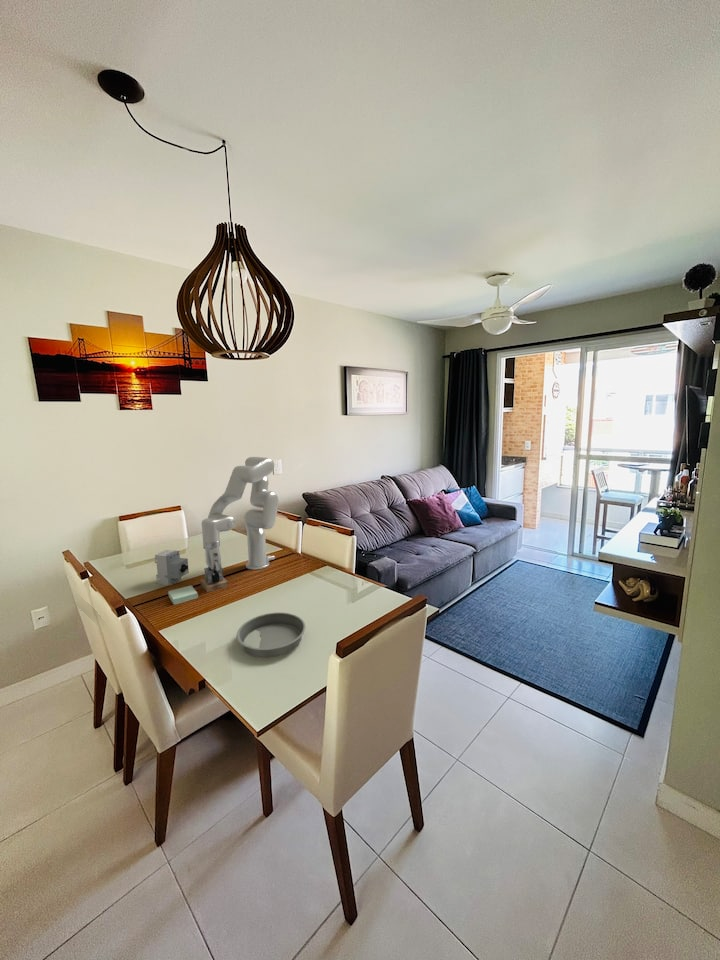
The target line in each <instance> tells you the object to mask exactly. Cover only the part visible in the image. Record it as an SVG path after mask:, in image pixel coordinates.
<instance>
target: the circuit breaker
mask: <svg viewBox="0 0 720 960" xmlns="http://www.w3.org/2000/svg"><path fill="white" fill-rule="evenodd" d="M154 564H156V570H157V571H156V572H157V573H156V576H155V578H156V582H157V583H156V584H157V585H165V586H173V585H174V584H175V583H177V582H179V581H180V580H182V577H184V576H186V575H187V574H189V572H190V571H189V561H188V558H184V557H181V556H180V550H173V549H164V550H162V551H160V552H158V553H155V554H154Z"/></svg>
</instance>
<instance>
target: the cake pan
mask: <svg viewBox="0 0 720 960" xmlns="http://www.w3.org/2000/svg"><path fill="white" fill-rule="evenodd" d="M255 631H257V632H259V636H260V640H259V647H255V646H250V645H247V644H246V643H244V641H245V640H246V638H247V637H248V636H249V635H250V634H251V633H253V632H255ZM305 631H306V622H305V621H304V620H303V619H302V618H301V617H300V616H298V615H296V614H293V613H289V612H269V613H264V614H263V613H262V614H260V615H256V616H255V617H253V618H250V619H248V620H247V621H246V622H244V623H243V624H242V625H241V626H240V627H239V628H238V630H237V632H236V639H237V642H238V643H239V644H240V645H241V646H242V649H243V650H244V651H245V653H247V654H248V655H250V656H253V657H255V658H262V659H263V658H265V659H267V658H269V659H270V658H276V657H279V656H284V655H286V654H288V653H290V652H292V651H294V650H295V649H296V648H297V647H298V646H299V645H300V643H301V641H302V638H303V635H304V634H305Z"/></svg>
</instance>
